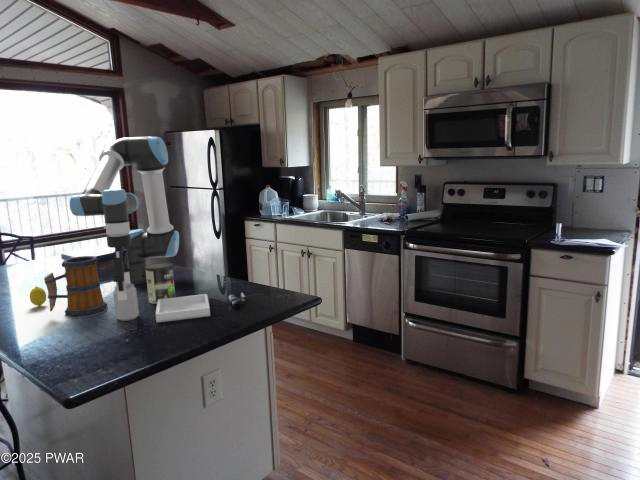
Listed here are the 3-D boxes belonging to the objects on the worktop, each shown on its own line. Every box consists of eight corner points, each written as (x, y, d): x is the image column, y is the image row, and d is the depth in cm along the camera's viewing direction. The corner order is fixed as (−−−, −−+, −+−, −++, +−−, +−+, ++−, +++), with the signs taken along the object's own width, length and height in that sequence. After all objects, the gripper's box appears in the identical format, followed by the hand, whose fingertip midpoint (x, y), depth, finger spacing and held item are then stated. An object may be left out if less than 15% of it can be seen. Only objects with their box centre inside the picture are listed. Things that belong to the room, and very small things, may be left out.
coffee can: (180, 296, 194) (177, 262, 191) (167, 304, 184) (164, 268, 181) (157, 295, 196) (153, 262, 193) (143, 303, 186) (139, 268, 183)
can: (134, 321, 166) (130, 288, 164) (112, 322, 166) (108, 288, 164) (142, 314, 173) (138, 282, 171) (121, 314, 173) (118, 282, 171)
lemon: (45, 303, 191) (42, 283, 189) (49, 306, 187) (46, 286, 185) (29, 306, 187) (26, 287, 186) (33, 309, 183) (30, 289, 182)
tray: (158, 306, 181) (157, 299, 180) (207, 301, 186) (206, 293, 185) (156, 322, 164) (155, 314, 163) (210, 316, 169) (209, 307, 168)
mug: (51, 324, 166) (42, 268, 163) (48, 313, 178) (40, 260, 175) (110, 312, 176) (104, 259, 173) (104, 303, 188) (98, 253, 185)
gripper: (111, 230, 175) (117, 287, 179) (100, 241, 151) (108, 305, 155) (133, 229, 177) (139, 284, 181) (126, 239, 153) (132, 303, 157)
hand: (124, 294), depth 168 cm, fingers open, 13 cm apart
